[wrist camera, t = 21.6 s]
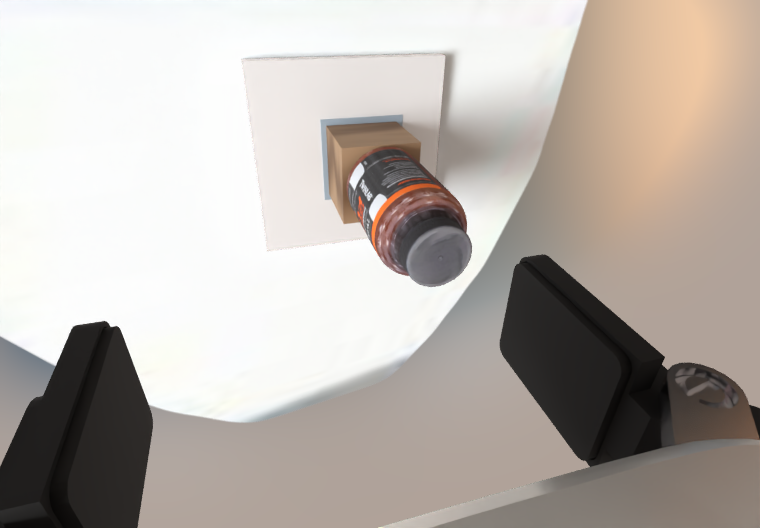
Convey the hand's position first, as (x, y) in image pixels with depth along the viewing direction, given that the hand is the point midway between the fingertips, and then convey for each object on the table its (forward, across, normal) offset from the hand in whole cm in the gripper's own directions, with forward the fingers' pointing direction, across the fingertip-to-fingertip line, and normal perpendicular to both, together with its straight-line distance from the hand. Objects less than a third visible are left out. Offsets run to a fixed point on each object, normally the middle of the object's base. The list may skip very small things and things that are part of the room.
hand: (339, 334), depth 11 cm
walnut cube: (+29, -8, +6) cm, 31 cm away
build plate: (+30, -7, +6) cm, 32 cm away
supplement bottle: (+23, -8, +6) cm, 25 cm away
